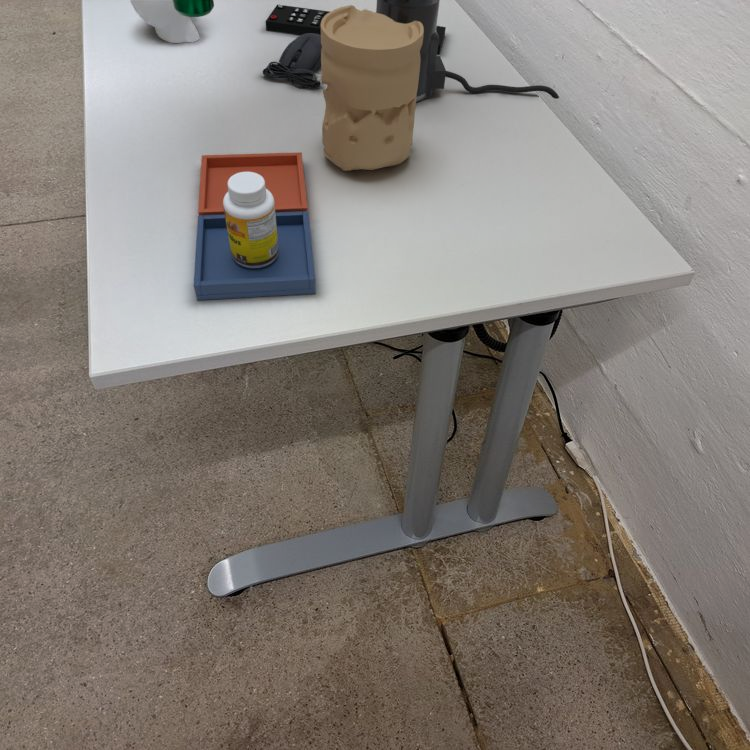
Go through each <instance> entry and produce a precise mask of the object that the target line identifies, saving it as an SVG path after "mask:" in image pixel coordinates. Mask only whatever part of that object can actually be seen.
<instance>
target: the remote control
mask: <svg viewBox="0 0 750 750" xmlns="http://www.w3.org/2000/svg"><path fill="white" fill-rule="evenodd" d="M329 12H331V11H328V10H321V9H315V8H308V7H299V6H291V5H285V4H276V5H275V7H274V8H273V10H272V11H271V12H270V14H269V16H268V17H267V18H266V20H265V31H267V32H274V33H281V34H282V33H283V34H289V35H296V36H301V35H303V34H306V33H314V34H319V35H321V21H322V19H323V17H324V16H325V15H326V14H328V13H329ZM446 28H447V27H446V26H441V25H440V26H439V25H437V27H436V31H437V34H438V36H439V41H438V49H437V55H440V54H441V51H442V48H443V44H444V40H445V36H446Z"/></svg>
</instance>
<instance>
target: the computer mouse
mask: <svg viewBox="0 0 750 750" xmlns="http://www.w3.org/2000/svg"><path fill="white" fill-rule="evenodd" d="M321 49H322V45H321V35H319V34H314V33H306V34H303V35H298V36H297V37H296V38H295V39H293V40H292V41H291V42H289V43H288V45H287V46H286V47H285V49H284V50H283V52H282V53H281V55H280V57H279V59H278V61H271V62H269V63H268V64H267V66H266V67H265V68H263V70H262V75H263V76H264V77H265V78H268V79H287V81H288V82H289V81H290V82H291V83H292V84H293V85H294V86H295V88H298V89H305V88H309V89H311V90H312V89H313V90H315V89H319V88H320V87H321V85H322V82H321V81H322V79H321V74H318V73H316V71H317V70H318V69H319V68H321Z"/></svg>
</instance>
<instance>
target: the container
mask: <svg viewBox="0 0 750 750" xmlns="http://www.w3.org/2000/svg"><path fill="white" fill-rule="evenodd" d="M423 35H424V28H423V25H422V23H421V22H419V21H413V22H411V23H408V24H403V23H398V22H395V21H393V20H392V19H391V18H389V17H387V16H385V15H383V14H379V13H376V11H372V10H369V9H362V10H360V9H358V8H356V6H354V5H352V4H350V5H345V6H340V7H338V8H335V9H333V10H331V11H330V12H329V13H328V14H326V15H325V16H324V17H323V19H322V21H321V45H322V49H321V67H320V72H321V73H320V75H321V85H326V88H324V89H322V95H323V99H324V102H325V108H324V109H325V110H324V117H323V120H322V124H321V125H322V126H321V139H322V141H321V142H322V145H323V148H322V151H323V154H324V156H325V157H326V158H327V159H328V160H329V161H331V162H332V163H333V164H334V165H335V166H336V167H338V168H339V169H341V171H343V172H349V171H350V172H351V171H355V170H356V171H358V170H371V171H372V170H373V171H374V170H378V169H382V168H386V167H393V166H397V165H400V164H402V163H403V162H404V161H405V160H407V159H408V158H409V157H410V156H411V152H412V148H411V147H412V145H413V136H414V127H415V116H416V106H417V105H416V104H417V102H416V96H417V94H416V93H417V89H418V82H419V72H420V61H421V58H420V49H421V46H422V43H423Z"/></svg>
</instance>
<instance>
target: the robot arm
mask: <svg viewBox="0 0 750 750" xmlns="http://www.w3.org/2000/svg"><path fill="white" fill-rule="evenodd" d="M439 9H440V0H376V9H375V12H376V13H379V14H383V15H385V16H387V17H389V18H391V19H392V20H393V21H395V22H398V23H403V24H408V23H411V22H413V21H419V22H421V23H422V25H423V28H424V35H423V43H422V46H421V49H420V58H421V61H420V72H419V82H418V89H417V93H416V94H417V96H416V103H417V102H421V101H422V100H424V99H431V98H432V96H433V90H444V89H445V83H446V78H449V79H451V80H455V81H456V82H459V83H460V84H461V85H462V87H463V89H464V90H465V91H466V92H467V93H472V94H479V93H485V92H488V91H496V92H497V91H498V92H506V93H513V94H515V93H516V94H517V93H518V94H520V93H521V94H523V93H531V92H544V93H547V94H548V95H549V96H551V98H553V99H560V96H559V94H558V93H557V92H556V91H555V89H553V88H552V87H550V86H547V85H529V86H510V85H502V84H486V85H482V86H476V87H475V86H471V85H470V83H468V81H467V80H466V79H465V77H463V76H462V75H459V74H457V73H455V72H452V71H449V70H447V69H446V67H445V63H443V62H444V61H443V60H442V57H441V55H438V54H437V49H438V41H439V36H438V34H437V31H436V27H437V26H438V17H439Z"/></svg>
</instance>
